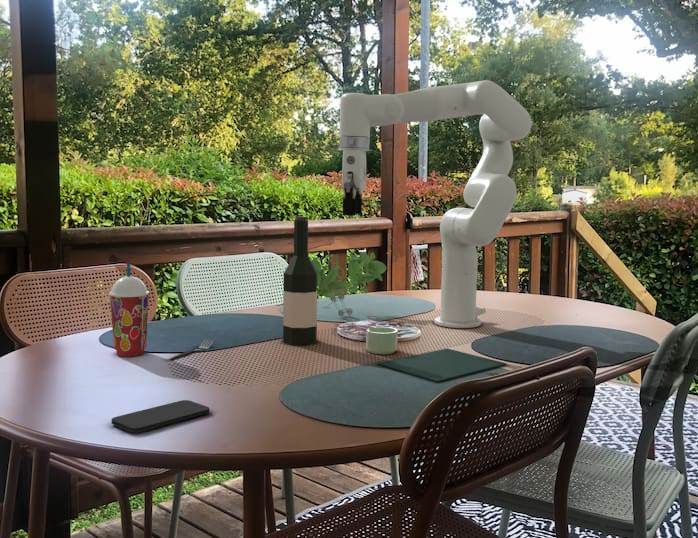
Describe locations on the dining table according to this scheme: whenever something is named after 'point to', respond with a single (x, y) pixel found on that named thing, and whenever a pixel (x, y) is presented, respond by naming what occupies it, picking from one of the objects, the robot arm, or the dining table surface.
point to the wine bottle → (300, 291)
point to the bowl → (381, 340)
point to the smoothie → (129, 315)
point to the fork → (193, 350)
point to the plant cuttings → (353, 268)
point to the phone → (159, 416)
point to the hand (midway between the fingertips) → (352, 214)
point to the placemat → (442, 365)
